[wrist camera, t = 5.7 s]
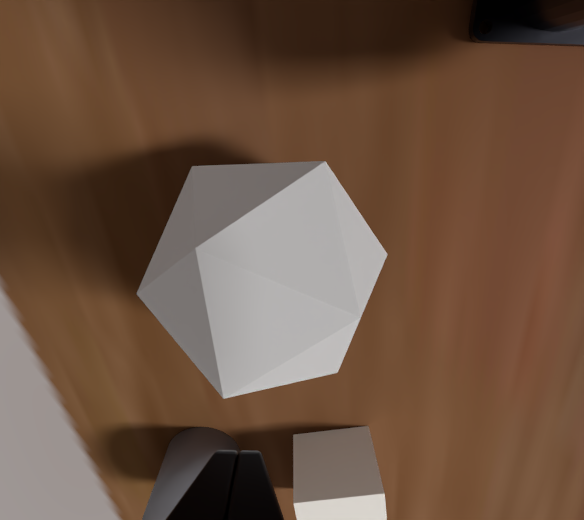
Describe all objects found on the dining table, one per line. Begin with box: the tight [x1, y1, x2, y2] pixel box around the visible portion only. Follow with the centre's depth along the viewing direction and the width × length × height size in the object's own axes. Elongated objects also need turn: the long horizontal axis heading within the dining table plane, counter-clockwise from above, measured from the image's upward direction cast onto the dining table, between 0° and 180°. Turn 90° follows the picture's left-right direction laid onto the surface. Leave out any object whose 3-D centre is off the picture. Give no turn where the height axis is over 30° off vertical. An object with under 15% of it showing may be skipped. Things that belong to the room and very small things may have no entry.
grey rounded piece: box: [142, 427, 240, 520], centre depth 23 cm, size 4×4×4 cm
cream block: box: [293, 426, 387, 520], centre depth 23 cm, size 4×4×4 cm
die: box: [136, 161, 387, 399], centre depth 16 cm, size 8×9×10 cm
